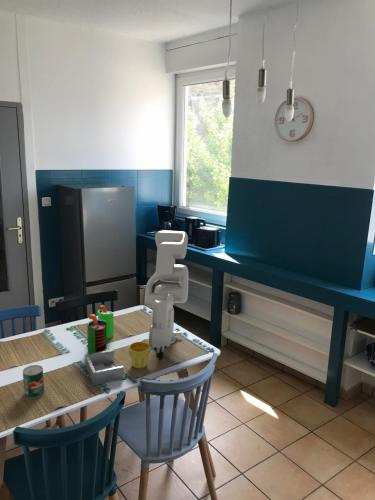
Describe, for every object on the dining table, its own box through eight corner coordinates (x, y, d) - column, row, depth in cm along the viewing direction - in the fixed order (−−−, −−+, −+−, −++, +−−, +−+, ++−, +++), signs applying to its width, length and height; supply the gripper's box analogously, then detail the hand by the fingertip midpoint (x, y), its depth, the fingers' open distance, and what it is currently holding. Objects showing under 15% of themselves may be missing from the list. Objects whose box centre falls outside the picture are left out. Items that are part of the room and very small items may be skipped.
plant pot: (151, 370, 190) (151, 351, 188) (129, 371, 188) (128, 352, 186) (149, 359, 200) (149, 340, 198) (128, 360, 198) (128, 341, 196)
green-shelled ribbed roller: (117, 334, 225) (116, 304, 220) (107, 340, 218) (106, 309, 214) (105, 330, 229) (104, 300, 225) (94, 335, 223) (93, 305, 218)
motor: (101, 358, 199) (100, 320, 194) (84, 355, 201) (82, 318, 196) (109, 348, 209) (108, 312, 204) (92, 346, 211) (91, 310, 206)
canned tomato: (32, 386, 174) (30, 363, 172) (48, 389, 172) (46, 366, 170) (20, 396, 167) (18, 373, 164) (36, 400, 165) (34, 376, 162)
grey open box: (113, 360, 197) (113, 349, 196) (123, 378, 182) (123, 366, 181) (85, 366, 192) (85, 354, 190) (93, 385, 177) (93, 373, 175)
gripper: (171, 318, 200) (170, 352, 205) (142, 323, 194) (142, 357, 198) (177, 324, 194) (176, 359, 198) (148, 329, 187) (147, 365, 192)
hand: (159, 358), depth 198 cm, fingers closed
